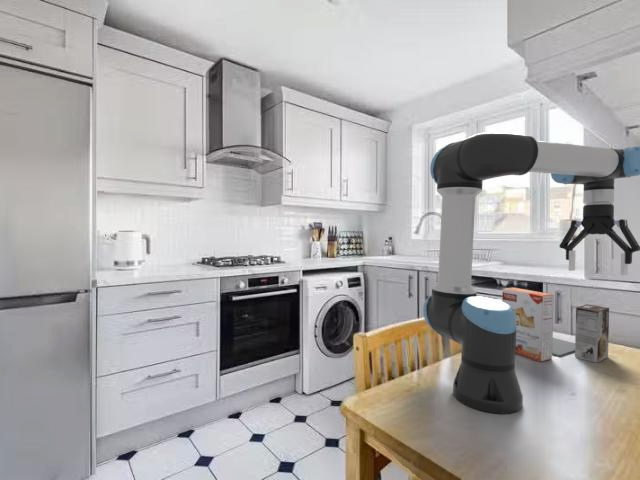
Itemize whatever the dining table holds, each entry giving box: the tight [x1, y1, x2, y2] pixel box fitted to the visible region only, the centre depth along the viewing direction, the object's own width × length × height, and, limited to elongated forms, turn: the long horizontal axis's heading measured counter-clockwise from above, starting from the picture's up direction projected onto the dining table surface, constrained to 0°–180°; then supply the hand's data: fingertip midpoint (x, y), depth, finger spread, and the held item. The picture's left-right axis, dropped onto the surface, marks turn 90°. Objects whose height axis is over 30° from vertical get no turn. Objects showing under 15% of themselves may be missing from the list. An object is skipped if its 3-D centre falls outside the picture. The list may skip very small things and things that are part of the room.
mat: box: [552, 337, 575, 358], centre depth 124 cm, size 18×14×1 cm
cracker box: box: [501, 287, 554, 363], centre depth 116 cm, size 14×6×21 cm, turn 25°
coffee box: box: [574, 303, 610, 364], centre depth 113 cm, size 9×6×16 cm
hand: (596, 272), depth 110 cm, fingers open, 13 cm apart
